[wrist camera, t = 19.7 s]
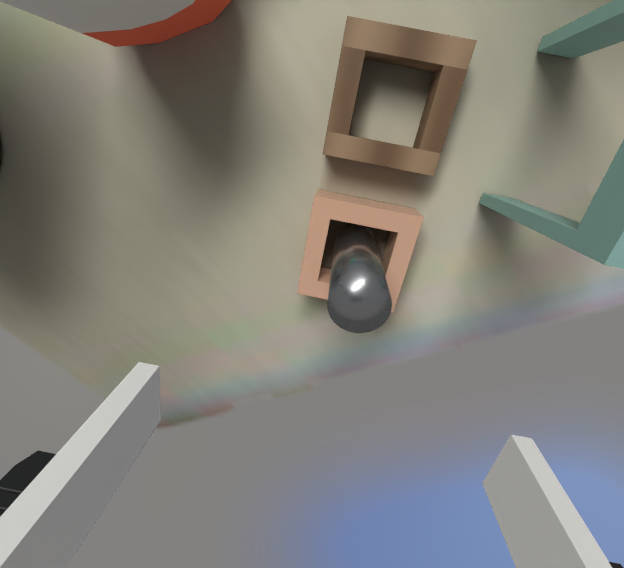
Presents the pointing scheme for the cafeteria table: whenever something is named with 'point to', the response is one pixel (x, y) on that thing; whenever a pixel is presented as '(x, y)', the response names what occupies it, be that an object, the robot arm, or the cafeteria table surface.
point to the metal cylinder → (358, 282)
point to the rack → (365, 213)
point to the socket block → (405, 52)
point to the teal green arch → (620, 176)
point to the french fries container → (126, 17)
